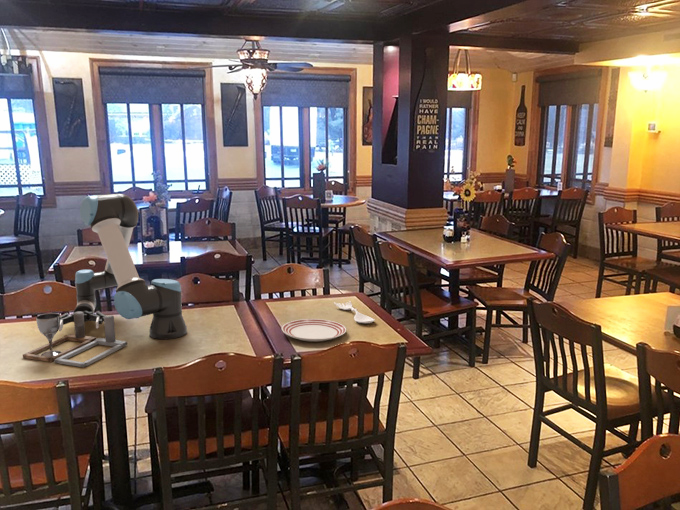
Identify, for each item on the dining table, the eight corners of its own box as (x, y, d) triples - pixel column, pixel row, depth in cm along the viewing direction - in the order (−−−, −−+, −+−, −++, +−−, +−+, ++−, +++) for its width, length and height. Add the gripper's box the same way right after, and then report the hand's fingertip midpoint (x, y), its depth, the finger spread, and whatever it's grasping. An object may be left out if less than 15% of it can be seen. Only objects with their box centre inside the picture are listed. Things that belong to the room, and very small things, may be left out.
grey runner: (127, 344, 231) (125, 317, 229) (84, 367, 208) (81, 336, 206) (100, 341, 235) (98, 313, 233) (54, 362, 212) (51, 332, 210)
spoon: (350, 306, 291) (350, 299, 290) (378, 325, 262) (378, 318, 261) (333, 308, 287) (333, 301, 286) (360, 327, 258) (360, 320, 258)
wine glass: (47, 359, 216) (44, 320, 213) (35, 354, 220) (31, 316, 217) (67, 352, 222) (64, 315, 219) (55, 348, 226) (51, 311, 223)
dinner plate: (316, 320, 267) (316, 313, 266) (359, 335, 248) (359, 328, 247) (268, 334, 248) (268, 326, 247) (311, 351, 229) (311, 343, 228)
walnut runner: (97, 340, 235) (95, 313, 233) (51, 362, 213) (48, 332, 210) (70, 336, 239) (68, 309, 237) (22, 357, 216) (19, 328, 214)
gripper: (115, 317, 255) (112, 332, 236) (53, 321, 248) (44, 338, 228) (114, 300, 254) (111, 315, 234) (51, 304, 246) (42, 320, 227)
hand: (78, 326), depth 231 cm, fingers open, 13 cm apart
